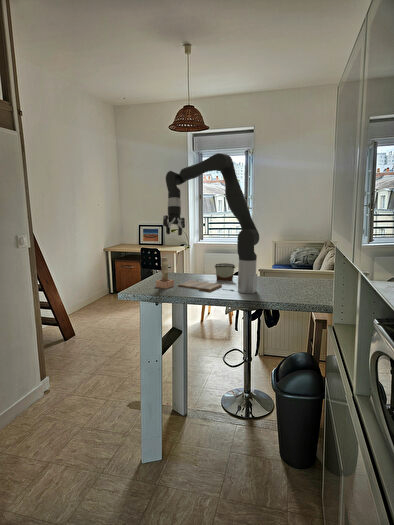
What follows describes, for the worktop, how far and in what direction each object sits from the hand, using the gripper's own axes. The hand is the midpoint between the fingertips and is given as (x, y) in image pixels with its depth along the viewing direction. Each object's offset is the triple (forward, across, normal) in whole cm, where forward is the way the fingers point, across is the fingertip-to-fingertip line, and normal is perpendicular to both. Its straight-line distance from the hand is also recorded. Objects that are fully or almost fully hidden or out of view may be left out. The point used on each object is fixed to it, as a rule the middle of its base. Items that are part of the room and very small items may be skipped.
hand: (174, 234), depth 202 cm
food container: (+26, +31, -10) cm, 42 cm away
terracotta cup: (+30, -8, -2) cm, 31 cm away
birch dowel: (+29, -8, -2) cm, 30 cm away
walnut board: (+30, +7, -14) cm, 33 cm away
